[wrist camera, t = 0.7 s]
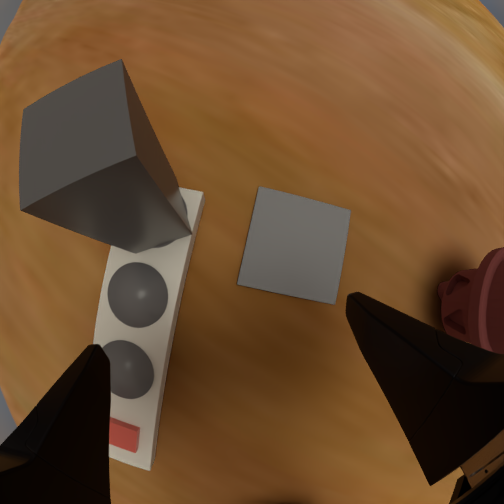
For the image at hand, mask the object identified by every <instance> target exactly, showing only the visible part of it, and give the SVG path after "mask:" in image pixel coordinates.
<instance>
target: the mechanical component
mask: <svg viewBox="0 0 504 504" xmlns="http://www.w3.org/2000/svg"><path fill="white" fill-rule="evenodd" d="M438 295H439V297H440V299H441V301H442V305H441V316H442V322H443V326H444V329H445V331H446V333H447V334H448V335H450V336H453V337H455V338H457V339H460V340H462V341H465V342H469V343H471V344H472V345H475V346H478V347H480V348H483V349H486V350H488V351H491V352H494V353H499V354H504V247H503V248H498V249H494V250H492V251H491V252H489V253H488V254H487V255H486V256H485V257H484V259H483V260H482V262H481V264H480V266H479V268H478V269H469V270H461V271H459V272H457V273H456V274H454V275H453V276H452V277H451V279H450V280H449V281H447V282H441V283H440V284H439V286H438Z"/></svg>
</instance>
